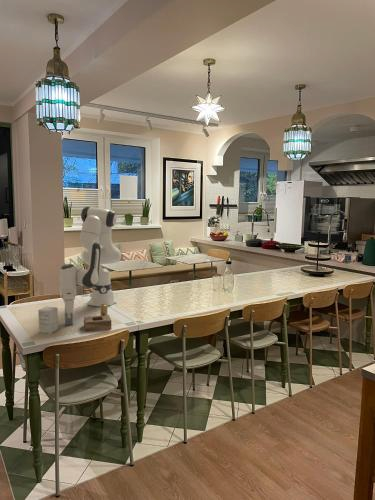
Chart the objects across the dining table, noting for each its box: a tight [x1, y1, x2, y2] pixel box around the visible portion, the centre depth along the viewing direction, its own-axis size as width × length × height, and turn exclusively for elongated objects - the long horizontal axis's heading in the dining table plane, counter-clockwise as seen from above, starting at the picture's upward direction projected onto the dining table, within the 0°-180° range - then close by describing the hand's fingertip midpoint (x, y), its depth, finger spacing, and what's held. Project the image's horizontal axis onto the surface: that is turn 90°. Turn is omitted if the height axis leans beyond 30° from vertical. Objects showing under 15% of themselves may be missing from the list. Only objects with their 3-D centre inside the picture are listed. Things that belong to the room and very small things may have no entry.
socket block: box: [83, 314, 112, 332], centre depth 214 cm, size 10×14×5 cm
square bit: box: [64, 309, 74, 326], centre depth 218 cm, size 4×4×10 cm
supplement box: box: [37, 305, 59, 334], centre depth 207 cm, size 7×7×13 cm
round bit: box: [100, 304, 108, 316], centre depth 225 cm, size 4×4×10 cm
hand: (68, 316), depth 218 cm, fingers closed on square bit, 4 cm apart
